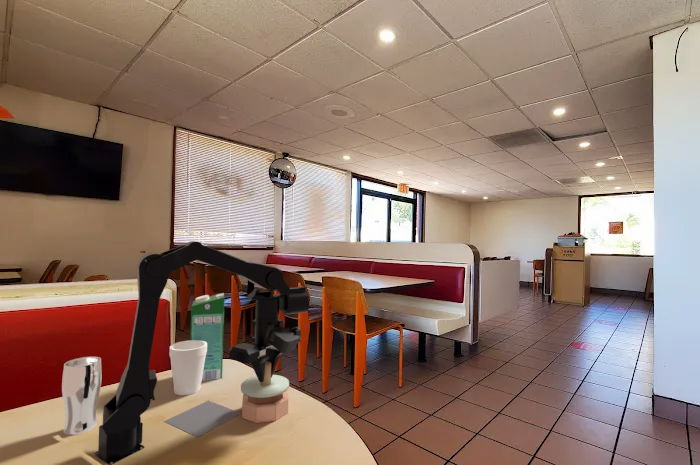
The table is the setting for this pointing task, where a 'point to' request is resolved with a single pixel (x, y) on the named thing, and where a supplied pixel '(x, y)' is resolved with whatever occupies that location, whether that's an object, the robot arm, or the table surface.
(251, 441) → the table surface
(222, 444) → the table surface
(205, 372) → the milk carton
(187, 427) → the mat
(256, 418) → the bowl
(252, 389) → the lid
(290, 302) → the robot arm
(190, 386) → the foam cup
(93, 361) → the beer glass
